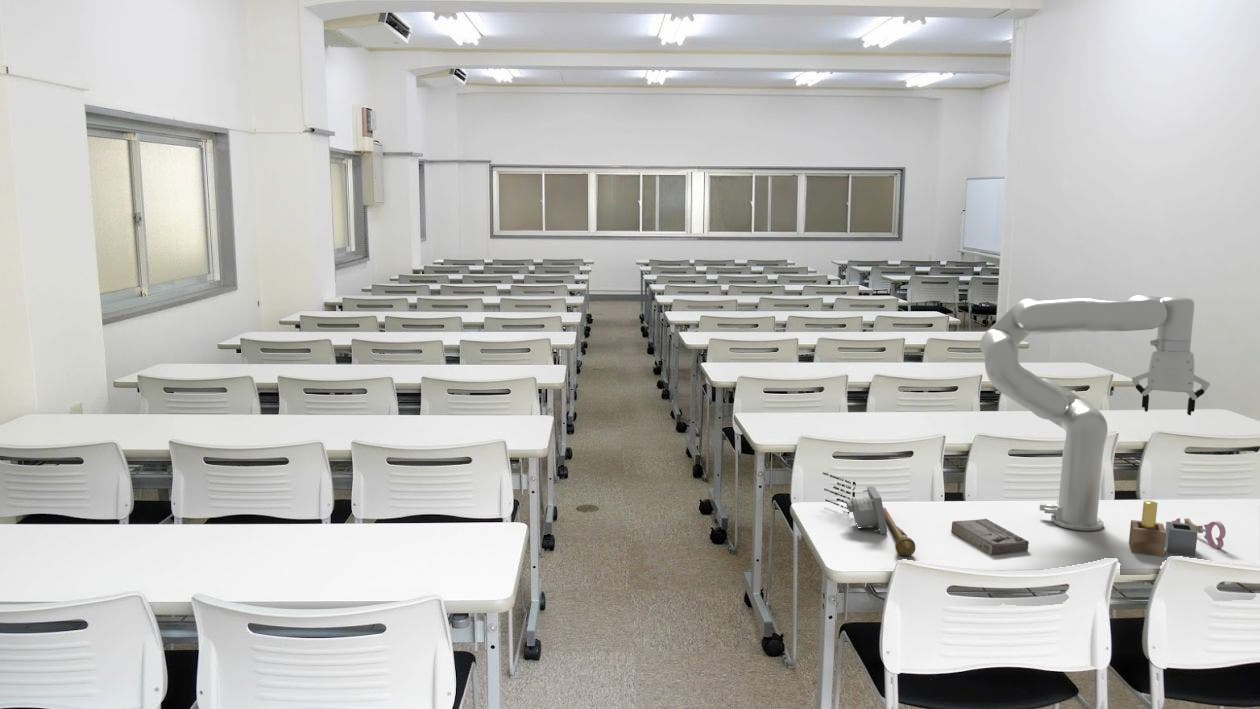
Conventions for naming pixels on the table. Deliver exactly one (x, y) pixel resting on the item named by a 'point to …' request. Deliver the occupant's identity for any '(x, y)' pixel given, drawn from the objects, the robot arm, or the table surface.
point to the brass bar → (1149, 515)
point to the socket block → (1180, 538)
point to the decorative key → (1208, 531)
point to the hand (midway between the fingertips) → (1167, 412)
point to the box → (989, 536)
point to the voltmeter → (864, 507)
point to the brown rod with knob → (900, 538)
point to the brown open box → (1147, 539)
